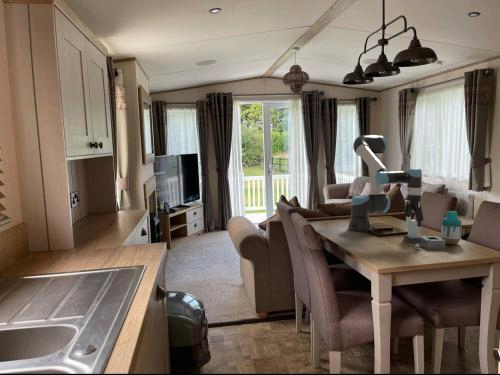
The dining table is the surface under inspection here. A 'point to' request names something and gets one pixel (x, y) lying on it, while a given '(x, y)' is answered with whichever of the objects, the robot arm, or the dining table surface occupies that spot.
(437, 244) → the port panel
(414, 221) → the plug
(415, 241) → the holster
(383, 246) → the dining table surface
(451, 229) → the vase
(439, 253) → the dining table surface
